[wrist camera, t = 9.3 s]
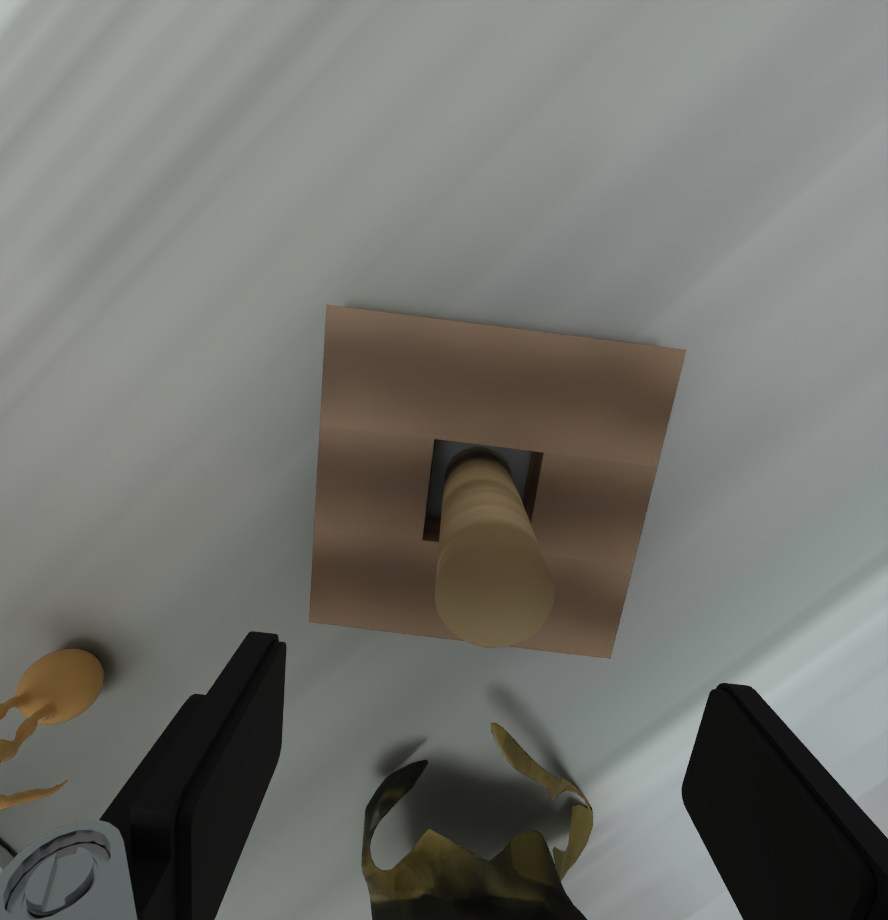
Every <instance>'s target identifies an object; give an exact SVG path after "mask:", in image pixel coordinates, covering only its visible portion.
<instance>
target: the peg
mask: <svg viewBox="0 0 888 920" xmlns="http://www.w3.org/2000/svg"><path fill="white" fill-rule="evenodd" d="M554 596H555V595H554V584H553V580H552V577H551V574H550V571H549V569H548V566H547V564H546V561H545V559H544V556H543V554H542V551H541V549H540V546H539V544H538V541H537V538H536V536H535V533H534V531H533V528H532V526H531V523H530V521H529V518H528V516H527V513H526V511H525V508H524V505H523V503H522V500H521V498H520V495H519V493H518V490H517V488H516V485H515V483H514V480H513V478H512V475H511V473H510V470H509V467H508V465H507V463H506V462H505V460H504V459H503V458H502V457H501V456H500V455H499V454H498V453H496V452H494V451H492V450H490V449H487V448H482V447H473V448H468V449H465V450H463V451H461V452H460V453H458V454H457V455H456V456H454V457H453V458H452V460H451V461H450V462H449V464H448V466H447V468H446V471H445V478H444V489H443V501H442V513H441V525H440V537H439V549H438V560H437V572H436V584H435V603H436V607H437V611H438V613H439V616H440V617H441V619H442V621H443V622H444V624H445V625H446V626H447V628H448V629H449V630H450V631H451V632H452V633H454V634H455V635H456V636H458V637H459V638H461V639H463V640H464V641H466V642H469V643H471V644H474V645H478V646H482V647H492V648H496V647H505V646H510V645H514V644H517V643H519V642H522V641H524V640H526V639H527V638H529V637H531V636H532V635H533V634H535V633H536V632H537V631H538V630H539V629H540V628H541V627H542V626H543V624H544V623H545V622H546V620H547V619H548V617H549V615H550V613H551V610H552V607H553V603H554Z"/></svg>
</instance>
